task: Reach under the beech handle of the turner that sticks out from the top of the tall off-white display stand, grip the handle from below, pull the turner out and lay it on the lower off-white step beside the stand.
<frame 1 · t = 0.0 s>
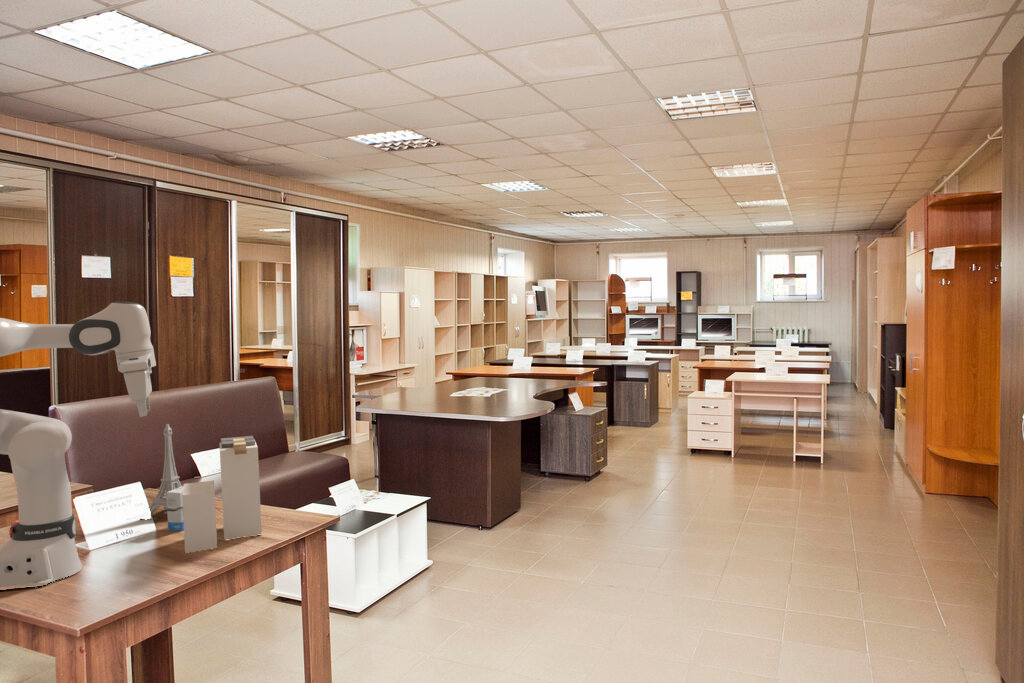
hand: (145, 413, 180), 39 cm above the table, tool pointing down, fingers open, 8 cm apart
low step: (201, 543, 192), on the table
tall stand: (242, 531, 202), on the table
ink box: (184, 527, 209), on the table
eiffel tower: (172, 515, 222), on the table
turner: (238, 446, 198), point 26 cm above the table, touching tall stand
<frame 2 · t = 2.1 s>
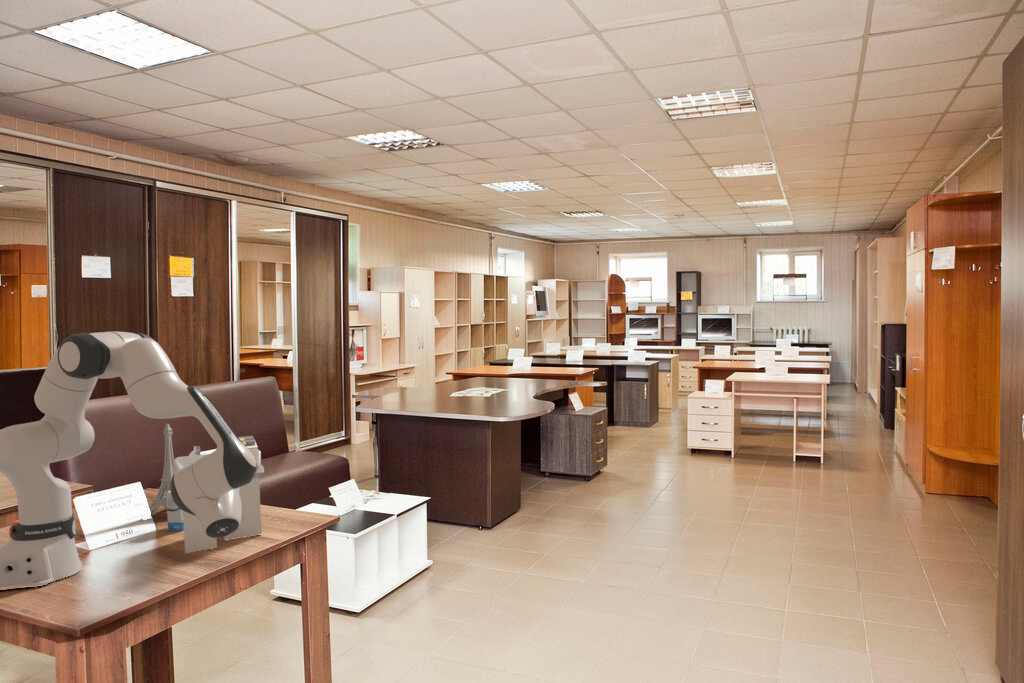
hand: (217, 445, 175), 31 cm above the table, tool pointing upward, fingers open, 8 cm apart
nothing on the table moved.
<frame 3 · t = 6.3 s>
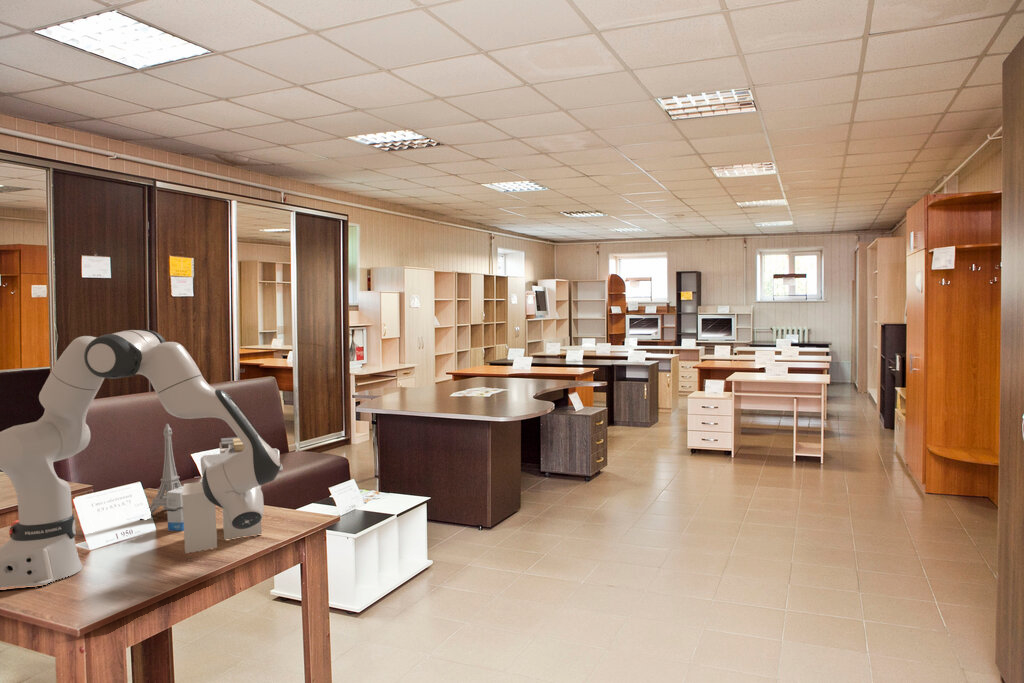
hand: (239, 445, 191), 28 cm above the table, tool pointing upward, fingers closed on turner, 3 cm apart
turner: (238, 446, 198), point 26 cm above the table, touching gripper, tall stand
everything else where it was.
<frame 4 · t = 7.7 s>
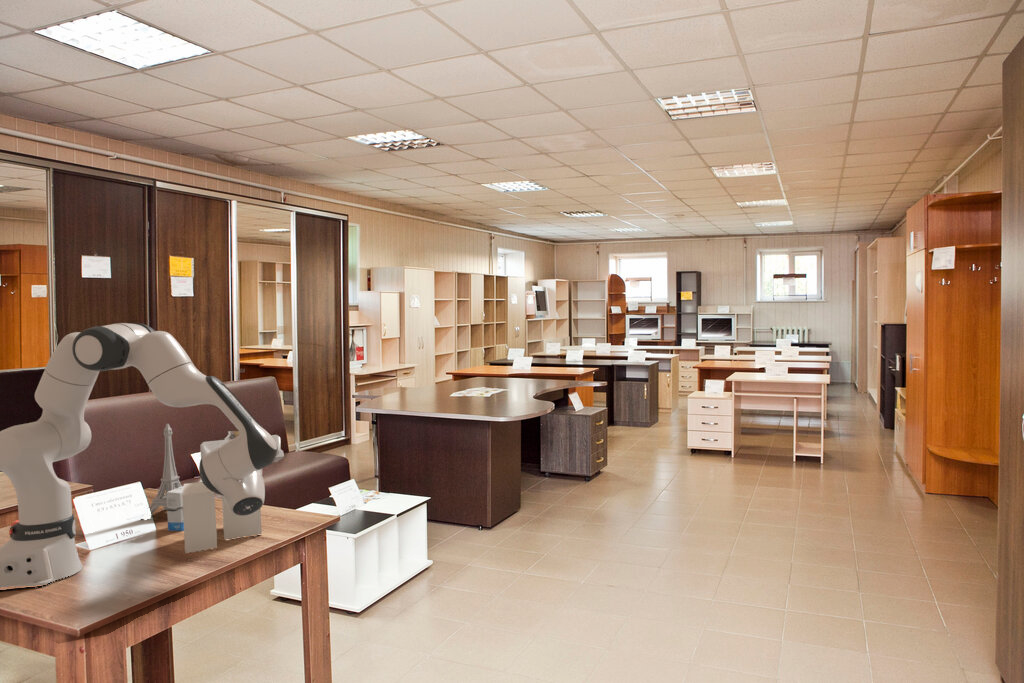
hand: (239, 432, 188), 32 cm above the table, tool pointing upward, fingers closed on turner, 3 cm apart
turner: (239, 441, 195), point 28 cm above the table, tilted 11°, touching gripper
everything else where it was.
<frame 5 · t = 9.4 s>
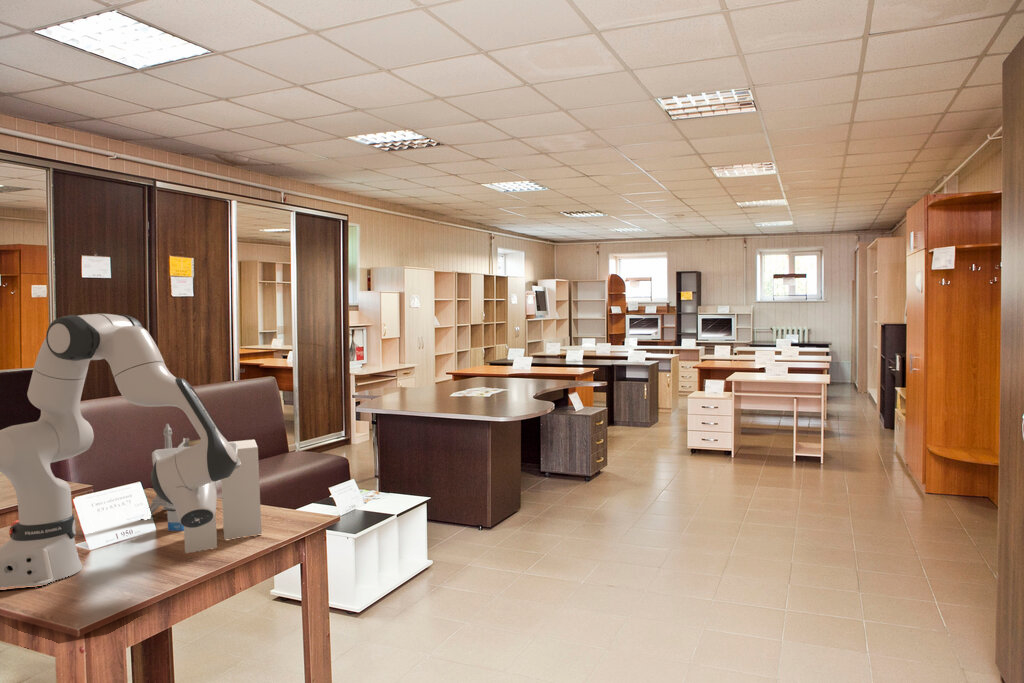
hand: (195, 439, 180), 32 cm above the table, tool pointing upward, fingers closed on turner, 3 cm apart
turner: (200, 449, 188), point 27 cm above the table, tilted 11°, touching gripper, tall stand
everything else where it was.
when the fingers open (20 cm above the table, at t = 11.9 s): turner stays where it is, resting on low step.
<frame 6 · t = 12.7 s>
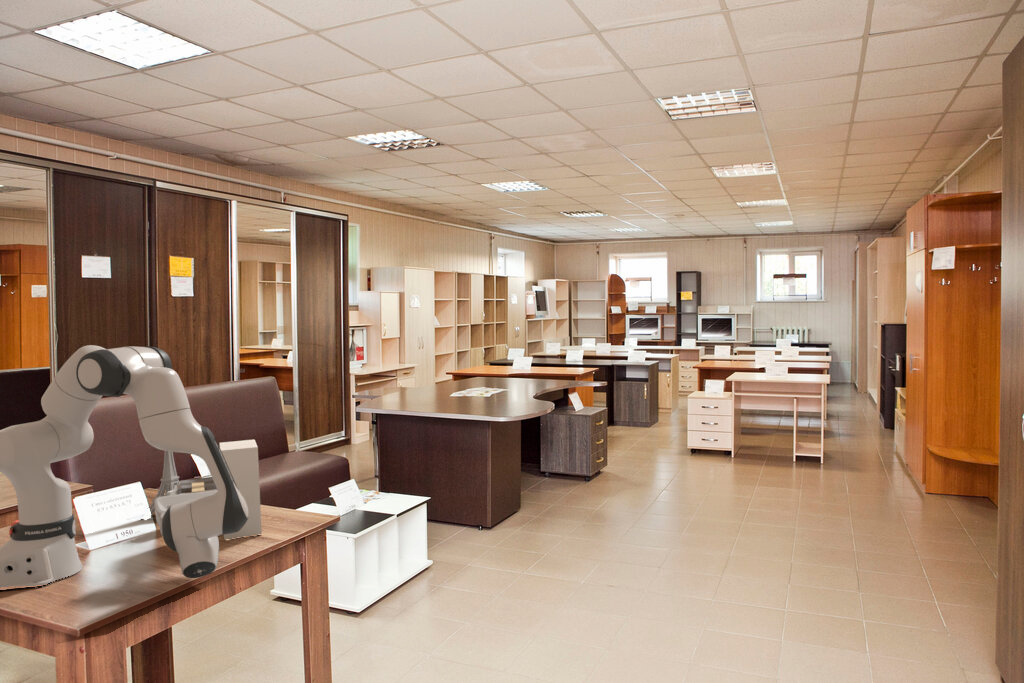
hand: (197, 484, 181), 19 cm above the table, tool pointing upward, fingers open, 8 cm apart
turner: (198, 491, 188), point 16 cm above the table, touching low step
everything else where it was.
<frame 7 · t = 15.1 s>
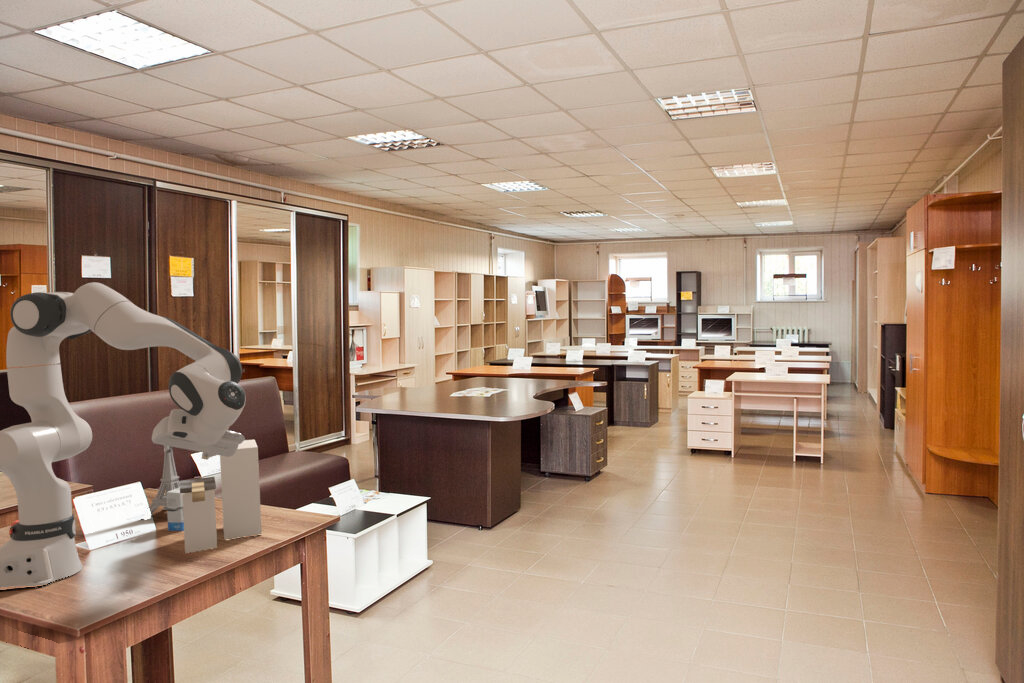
hand: (185, 453, 177), 29 cm above the table, tool tilted 55°, fingers open, 8 cm apart
nothing on the table moved.
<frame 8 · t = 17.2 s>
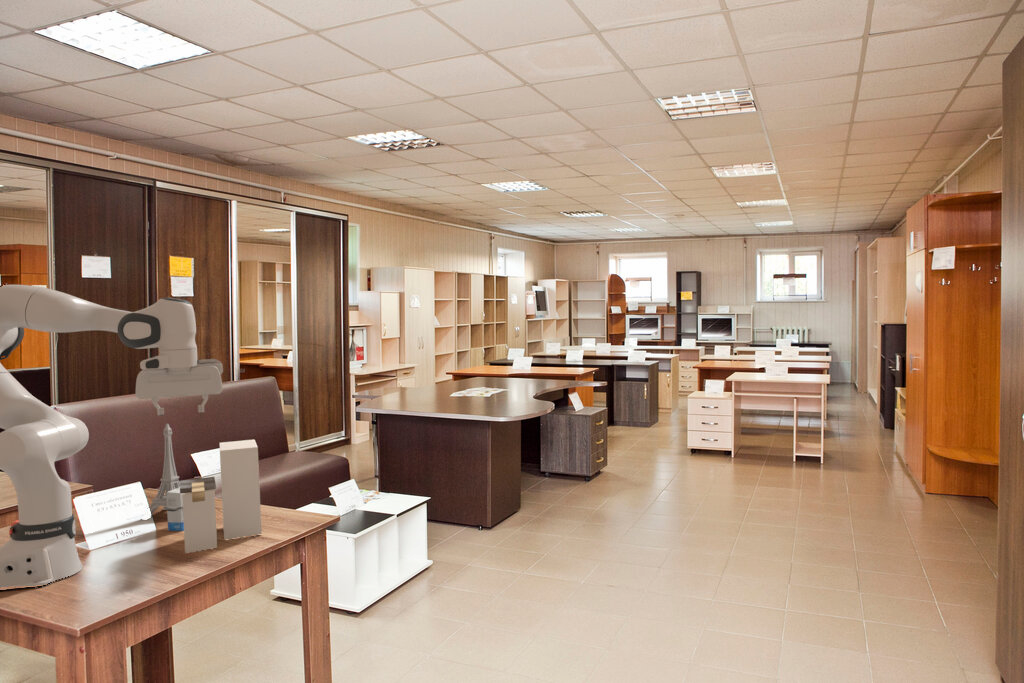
hand: (181, 413, 176), 39 cm above the table, tool pointing down, fingers open, 8 cm apart
nothing on the table moved.
at the end: turner inside the target area on the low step (1.0 cm from its centre), point 16.0 cm above the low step's base; the gripper is holding nothing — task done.
